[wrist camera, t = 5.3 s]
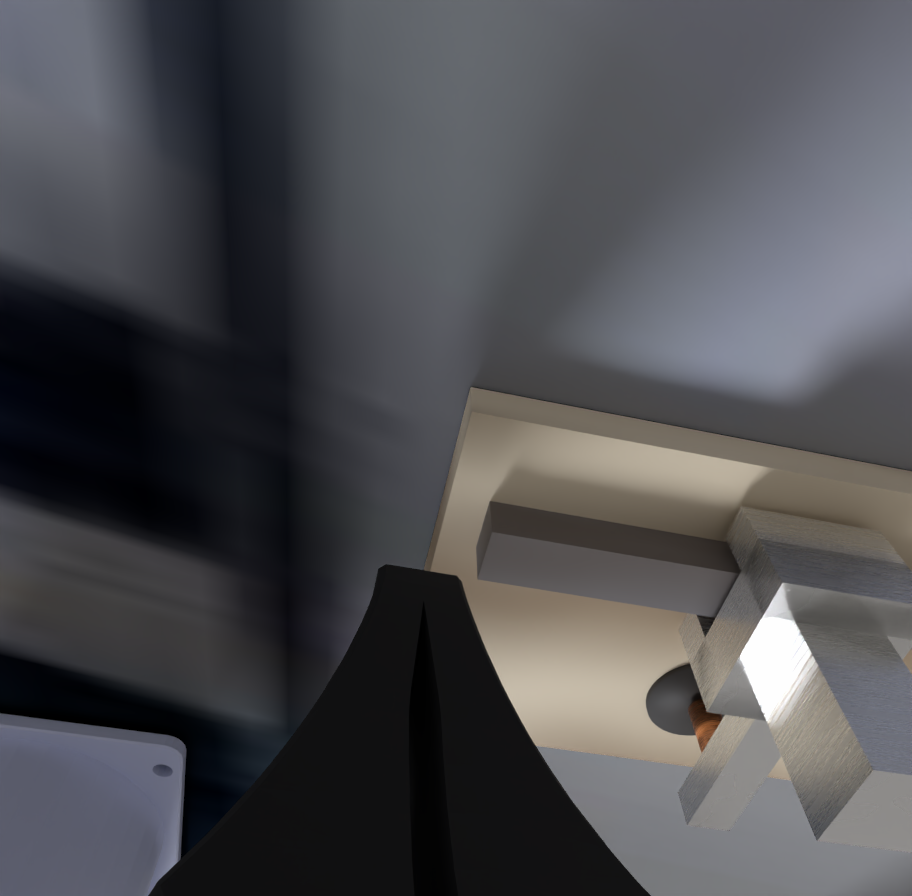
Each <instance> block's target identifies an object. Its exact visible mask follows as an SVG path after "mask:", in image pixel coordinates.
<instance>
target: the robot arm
mask: <svg viewBox="0 0 912 896" xmlns="http://www.w3.org/2000/svg"><path fill="white" fill-rule="evenodd" d="M185 766H186V747H185V744H184V743H183V742H182V741H181V740H180V739H178V738H176V737H174V736H170V735H164V734H156V733H149V732H141V731H133V730H126V729H118V728H110V727H103V726H95V725H87V724H79V723H72V722H64V721H56V720H49V719H41V718H33V717H25V716H18V715H10V714H2V713H0V896H651V895H650V894H649V893H648V892H647V891H646V890H645V889H644V888H643V887H642V886H641V885H640V884H639V883H638V882H637V881H636V880H635V879H634V877H633V876H632V875H631V874H630V873H629V872H628V870H627V869H626V868H625V867H624V866H623V865H622V863H621V862H620V861H619V860H618V859H617V858H616V857H615V855H614V854H613V853H612V852H611V851H610V849H609V848H608V847H607V845H606V844H605V843H604V842H603V840H602V839H601V838H600V836H599V835H598V834H597V833H596V831H595V830H594V829H593V827H592V826H591V825H590V824H589V822H588V821H587V820H586V818H585V817H584V816H583V815H582V813H581V812H580V811H579V809H578V808H577V807H576V806H575V804H574V803H573V802H572V800H571V799H570V797H569V796H568V794H567V793H566V792H565V790H564V789H563V787H562V786H561V784H560V783H559V781H558V780H557V778H556V777H555V775H554V774H553V773H552V771H551V769H550V768H549V766H548V765H547V763H546V762H545V760H544V758H543V757H542V755H541V754H540V752H539V751H538V749H537V747H536V746H535V744H534V742H533V741H532V739H531V737H530V736H529V734H528V732H527V730H526V729H525V727H524V725H523V723H522V722H521V720H520V718H519V716H518V714H517V712H516V710H515V708H514V707H513V705H512V703H511V701H510V699H509V697H508V695H507V693H506V691H505V689H504V687H503V685H502V683H501V681H500V679H499V677H498V674H497V672H496V670H495V668H494V666H493V663H492V661H491V659H490V657H489V655H488V652H487V650H486V648H485V645H484V643H483V641H482V638H481V636H480V633H479V631H478V628H477V625H476V623H475V620H474V618H473V615H472V612H471V609H470V606H469V604H468V601H467V598H466V594H465V591H464V588H463V584H462V581H461V580H460V579H459V577H458V576H456V575H450V574H444V573H437V572H431V571H425V570H418V569H412V568H406V567H400V566H393V565H387V564H386V565H384V566H383V567H381V568H379V569H378V574H377V578H376V583H375V587H374V592H373V596H372V599H371V601H370V604H369V606H368V609H367V611H366V614H365V616H364V618H363V621H362V623H361V625H360V627H359V629H358V631H357V633H356V635H355V637H354V639H353V641H352V643H351V645H350V647H349V649H348V651H347V653H346V654H345V656H344V658H343V660H342V661H341V663H340V665H339V666H338V668H337V670H336V671H335V673H334V675H333V676H332V678H331V680H330V681H329V683H328V685H327V686H326V688H325V690H324V691H323V693H322V694H321V696H320V697H319V699H318V700H317V702H316V703H315V705H314V706H313V708H312V709H311V711H310V712H309V714H308V715H307V717H306V718H305V719H304V721H303V722H302V723H301V725H300V726H299V728H298V729H297V730H296V732H295V733H294V734H293V736H292V737H291V738H290V740H289V741H288V742H287V744H286V745H285V746H284V747H283V749H282V750H281V751H280V752H279V754H278V755H277V756H276V757H275V759H274V760H273V761H272V763H271V764H270V765H269V766H268V767H267V769H266V770H265V771H264V772H263V773H262V775H261V776H260V777H259V778H258V779H257V781H256V782H255V783H254V784H253V785H252V786H251V787H250V788H249V790H248V791H247V792H246V793H245V794H244V795H243V796H242V797H241V798H240V799H239V800H238V802H237V803H236V804H235V805H234V806H233V807H232V808H231V809H230V810H229V811H228V812H227V813H226V815H225V816H224V817H223V818H222V819H221V820H220V821H219V822H218V823H217V824H216V825H215V826H214V827H213V828H212V829H211V830H210V831H209V832H208V834H207V835H206V836H205V837H204V838H202V839H201V840H200V841H199V842H198V843H197V844H196V845H195V846H194V847H193V848H192V849H191V850H190V851H189V852H188V853H187V854H186V855H185V856H184V857H182V858H181V841H182V822H183V803H184V785H185Z"/></svg>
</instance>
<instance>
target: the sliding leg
mask: <svg viewBox="0 0 912 896" xmlns="http://www.w3.org/2000/svg"><path fill="white" fill-rule="evenodd" d="M725 539H726V541H727V543H728V545H729V547H730V549H731V551H732V553H733V555H734V557H735V559H736V561H737V563H738V565H739V567H740V570H741V572H740V574H739V576H738V578H737V580H736V581H735V583H734V585H733V587H732V589H731V591H730V593H729V594H728V596H727V598H726V600H725V602H724V604H723V606H722V607H721V609H720V611H719V613H718V615H717V617H716V618H714V617H707V616H701V615H695V614H689V613H687V614H686V616H685V618H684V619H683V621H682V623H681V625H680V627H679V629H678V630H679V633H680V636H681V639H682V642H683V645H684V648H685V650H686V653H687V656H688V659H689V662H690V665H691V668H692V670H693V673H694V676H695V679H696V682H697V685H698V688H699V691H700V693H701V696H702V699H698V700H696V701H694V702H692V703H691V704H690V705H689V707H688V713H689V716H690V719H691V722H692V725H693V728H694V731H695V734H696V737H697V741H698V744H699V747H700V750H701V753H702V754H701V755H700V757H699V759H698V760H697V762H696V764H695V765H694V767H693V769H692V770H691V772H690V774H689V775H688V777H687V779H686V780H685V782H684V783H683V785H682V787H681V788H680V790H679V792H678V794H679V798H680V801H681V805H682V809H683V812H684V816H685V819H686V823H687V826H694V827H702V828H710V829H718V830H726V831H730V830H731V828H732V827H733V826H734V824H735V823H736V821H737V820H738V818H739V817H740V815H741V814H742V813H743V811H744V810H745V808H746V807H747V805H748V804H749V802H750V801H751V799H752V798H753V797H754V795H755V794H756V792H757V791H758V789H759V788H760V786H761V785H762V783H763V782H764V781H765V779H766V778H767V776H768V775H769V773H770V772H771V770H772V769H773V768H774V766H775V765H776V763H777V762H778V760H779V759H780V757H782V759H783V762H784V764H785V766H786V769H787V771H788V773H789V776H790V778H791V781H792V783H793V785H794V788H795V790H796V792H797V795H798V797H799V799H800V802H801V804H802V807H803V809H804V811H805V814H806V816H807V818H808V821H809V823H810V826H811V828H812V830H813V833H814V835H815V837H816V840H817V841H822V842H830V843H838V844H846V845H854V846H862V847H870V848H878V849H886V850H893V851H901V852H909V853H912V674H911V672H910V671H909V669H908V668H907V666H906V665H905V663H904V662H903V659H904V657H905V656H906V655H907V653H908V652H909V651H910V649H911V648H912V571H911V570H910V569H909V568H908V566H907V565H906V564H905V562H904V561H903V560H902V558H901V557H900V556H899V555H898V553H897V552H896V551H895V549H894V548H893V547H892V545H891V544H890V543H889V542H888V540H887V539H886V538H885V536H884V535H883V534H882V532H880V531H875V530H869V529H864V528H858V527H853V526H847V525H842V524H836V523H830V522H825V521H819V520H814V519H808V518H803V517H797V516H792V515H786V514H781V513H775V512H769V511H764V510H758V509H753V508H747V507H742V506H741V508H740V510H739V512H738V514H737V516H736V518H735V520H734V521H733V523H732V525H731V527H730V529H729V531H728V533H727V535H726V537H725ZM721 714H723V715H724V717H723V718H722V715H721Z"/></svg>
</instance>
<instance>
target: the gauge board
mask: <svg viewBox="0 0 912 896" xmlns="http://www.w3.org/2000/svg"><path fill="white" fill-rule="evenodd" d="M741 506H742V507H747V508H753V509H758V510H764V511H769V512H775V513H781V514H786V515H792V516H797V517H803V518H808V519H814V520H819V521H825V522H830V523H836V524H842V525H847V526H853V527H858V528H864V529H869V530H875V531H880V532H882V534H883V535H884V536H885V538H886V539H887V540H888V542H889V543H890V544H891V545H892V547H893V548H894V549H895V551H896V552H897V553H898V555H899V556H900V557H901V558H902V560H903V561H904V562H905V564H906V565H907V566H908V568H909V569H910V570H911V571H912V471H907V470H902V469H897V468H891V467H886V466H881V465H876V464H870V463H865V462H860V461H855V460H850V459H844V458H839V457H834V456H829V455H823V454H818V453H813V452H808V451H803V450H797V449H792V448H787V447H782V446H776V445H771V444H766V443H761V442H756V441H750V440H745V439H740V438H735V437H729V436H724V435H719V434H714V433H709V432H703V431H698V430H693V429H688V428H682V427H677V426H672V425H667V424H662V423H656V422H651V421H646V420H641V419H635V418H630V417H625V416H620V415H615V414H609V413H604V412H599V411H594V410H588V409H583V408H578V407H573V406H568V405H562V404H557V403H552V402H547V401H541V400H536V399H531V398H526V397H521V396H515V395H510V394H505V393H500V392H494V391H489V390H484V389H479V388H474V387H470V391H469V395H468V399H467V403H466V407H465V411H464V415H463V419H462V423H461V426H460V430H459V434H458V438H457V442H456V446H455V450H454V454H453V458H452V462H451V465H450V469H449V473H448V477H447V481H446V485H445V489H444V493H443V497H442V501H441V504H440V508H439V512H438V516H437V520H436V524H435V528H434V532H433V536H432V540H431V543H430V547H429V551H428V555H427V559H426V563H425V567H424V570H425V571H431V572H437V573H444V574H450V575H456V576H458V577H459V579H460V580H461V581H462V584H463V588H464V591H465V594H466V598H467V601H468V604H469V606H470V609H471V612H472V615H473V618H474V620H475V623H476V625H477V628H478V631H479V633H480V636H481V638H482V641H483V643H484V645H485V648H486V650H487V652H488V655H489V657H490V659H491V661H492V663H493V666H494V668H495V670H496V672H497V674H498V677H499V679H500V681H501V683H502V685H503V687H504V689H505V691H506V693H507V695H508V697H509V699H510V701H511V703H512V705H513V707H514V708H515V710H516V712H517V714H518V716H519V718H520V720H521V722H522V723H523V725H524V727H525V729H526V730H527V732H528V734H529V736H530V737H531V739H532V741H533V742H534V744H535V746H542V747H549V748H557V749H564V750H571V751H579V752H586V753H594V754H601V755H608V756H616V757H623V758H630V759H638V760H645V761H653V762H660V763H667V764H675V765H682V766H689V767H694V765H695V764H696V762H697V760H698V759H699V757H700V755H701V754H702V753H701V750H700V747H699V744H698V741H697V737H696V734H695V731H694V728H693V725H692V722H691V719H690V716H689V713H688V707H689V705H690V704H691V703H692V702H694V701H696V700H698V699H702V696H701V693H700V691H699V688H698V685H697V682H696V679H695V676H694V673H693V670H692V668H691V665H690V662H689V659H688V656H687V653H686V650H685V648H684V645H683V642H682V639H681V636H680V633H679V630H678V629H679V627H680V625H681V623H682V621H683V619H684V618H685V616H686V614H687V613H689V614H695V615H701V616H707V617H714V618H716V617H717V615H718V613H719V611H720V609H721V607H722V606H723V604H724V602H725V600H726V598H727V596H728V594H729V593H730V591H731V589H732V587H733V585H734V583H735V581H736V580H737V578H738V576H739V574H740V572H741V570H740V567H739V565H738V563H737V561H736V559H735V557H734V555H733V553H732V551H731V549H730V547H729V545H728V543H727V541H726V539H725V537H726V535H727V533H728V531H729V529H730V527H731V525H732V523H733V521H734V520H735V518H736V516H737V514H738V512H739V510H740V508H741ZM903 662H904V663H905V665H906V666H907V668H908V669H909V671H910V672H911V674H912V648H911V649H910V651H909V652H908V653H907V655H906V656H905V657H904V659H903ZM721 715H722V718H723V717H724V715H723V714H721ZM767 777H770V778H778V779H785V780H791V778H790V776H789V773H788V771H787V769H786V766H785V764H784V762H783V759H782V757H780V759H779V760H778V762H777V763H776V765H775V766H774V768H773V769H772V770H771V772H770V773H769V775H768V776H767Z"/></svg>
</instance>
